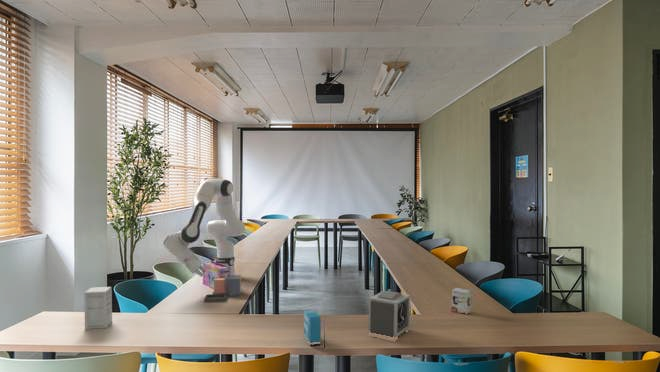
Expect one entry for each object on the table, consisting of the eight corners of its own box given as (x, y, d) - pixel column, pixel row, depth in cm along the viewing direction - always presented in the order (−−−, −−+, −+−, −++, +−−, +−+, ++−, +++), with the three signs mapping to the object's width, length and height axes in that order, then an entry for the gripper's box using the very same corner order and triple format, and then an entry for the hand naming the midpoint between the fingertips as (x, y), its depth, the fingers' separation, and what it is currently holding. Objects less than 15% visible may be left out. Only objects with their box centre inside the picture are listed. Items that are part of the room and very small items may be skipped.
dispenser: (211, 296, 263) (211, 279, 262) (213, 292, 272) (213, 275, 272) (239, 296, 265) (240, 278, 265) (240, 291, 275) (240, 274, 274)
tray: (204, 302, 252) (204, 298, 252) (206, 297, 261) (206, 294, 261) (225, 301, 253) (225, 298, 253) (226, 297, 262) (226, 294, 262)
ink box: (451, 311, 240) (451, 289, 239) (455, 309, 243) (455, 287, 243) (466, 315, 234) (466, 292, 233) (470, 313, 237) (471, 290, 237)
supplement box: (112, 321, 217) (112, 286, 217) (106, 328, 208) (106, 291, 208) (91, 322, 216) (90, 287, 215) (83, 329, 207) (83, 292, 206)
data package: (303, 337, 200) (303, 309, 200) (313, 336, 201) (313, 308, 201) (310, 347, 188) (310, 318, 188) (320, 346, 190) (321, 317, 189)
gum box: (201, 283, 294) (201, 262, 293) (212, 281, 299) (212, 261, 299) (219, 291, 276) (219, 268, 275) (230, 289, 281) (231, 267, 281)
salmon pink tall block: (213, 295, 266) (214, 279, 266) (214, 293, 269) (214, 278, 269) (224, 295, 267) (224, 279, 267) (225, 293, 270) (225, 278, 270)
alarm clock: (394, 342, 195) (395, 299, 195) (366, 336, 202) (367, 294, 202) (410, 329, 211) (411, 290, 210) (384, 324, 218) (385, 286, 217)
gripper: (187, 256, 255) (205, 273, 256) (193, 250, 275) (209, 266, 277) (179, 264, 254) (197, 282, 256) (185, 258, 275) (202, 274, 276)
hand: (203, 273), depth 267 cm, fingers open, 8 cm apart
